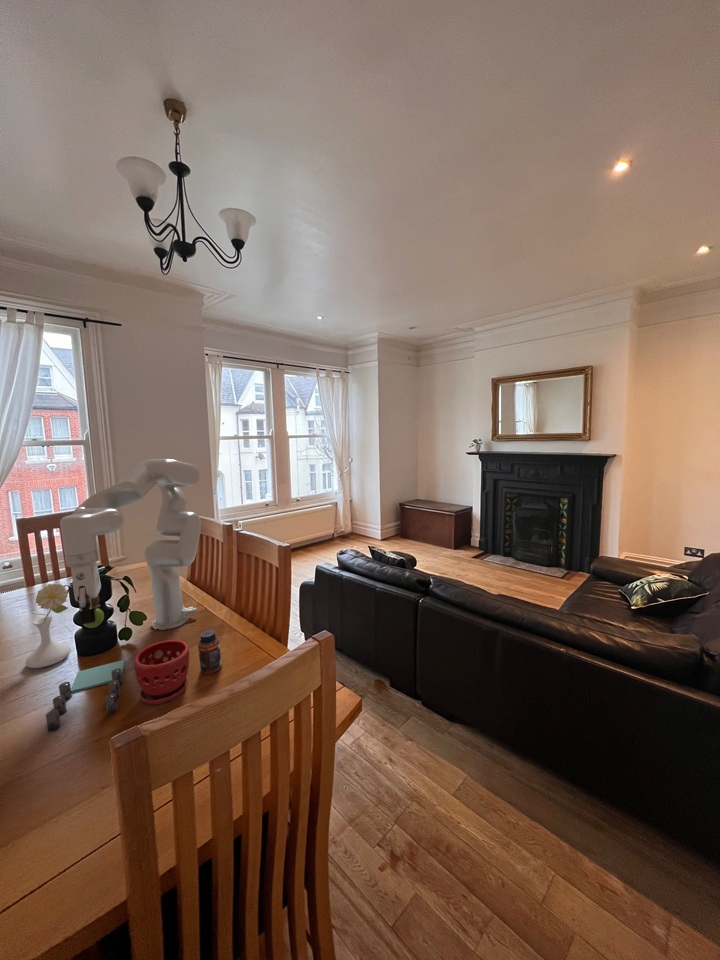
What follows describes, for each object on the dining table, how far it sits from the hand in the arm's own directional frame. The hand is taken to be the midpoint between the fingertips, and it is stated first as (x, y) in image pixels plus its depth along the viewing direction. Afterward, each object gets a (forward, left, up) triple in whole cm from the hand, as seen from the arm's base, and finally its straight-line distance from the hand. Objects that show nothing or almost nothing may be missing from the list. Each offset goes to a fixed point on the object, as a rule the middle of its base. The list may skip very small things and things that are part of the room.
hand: (90, 617), depth 111 cm
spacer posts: (+1, +13, -18) cm, 23 cm away
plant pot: (-18, +18, -19) cm, 32 cm away
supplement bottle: (-30, +13, -19) cm, 38 cm away
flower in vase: (+15, -18, -19) cm, 30 cm away
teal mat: (0, 0, -18) cm, 18 cm away
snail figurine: (0, 0, -3) cm, 3 cm away
